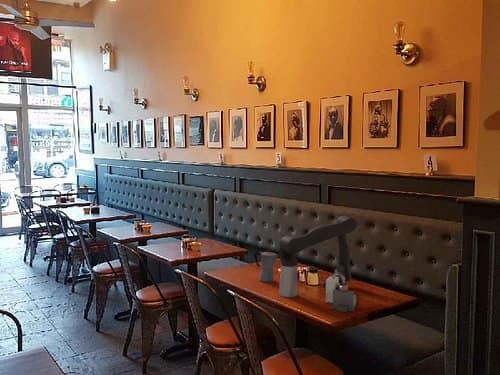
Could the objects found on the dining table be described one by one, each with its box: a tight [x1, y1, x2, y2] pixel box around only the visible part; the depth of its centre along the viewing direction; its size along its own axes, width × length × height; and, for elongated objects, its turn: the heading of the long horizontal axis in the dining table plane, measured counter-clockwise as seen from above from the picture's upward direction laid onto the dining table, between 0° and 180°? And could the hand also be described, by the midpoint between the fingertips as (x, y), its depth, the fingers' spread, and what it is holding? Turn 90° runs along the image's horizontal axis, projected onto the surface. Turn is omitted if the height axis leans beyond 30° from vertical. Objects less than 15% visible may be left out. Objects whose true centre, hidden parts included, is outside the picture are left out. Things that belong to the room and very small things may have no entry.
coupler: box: [331, 285, 357, 313], centre depth 244 cm, size 10×12×12 cm
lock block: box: [325, 275, 339, 304], centre depth 257 cm, size 5×10×12 cm, turn 159°
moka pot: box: [253, 249, 279, 283], centre depth 295 cm, size 10×15×20 cm, turn 81°
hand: (331, 288), depth 255 cm, fingers closed on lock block, 5 cm apart
